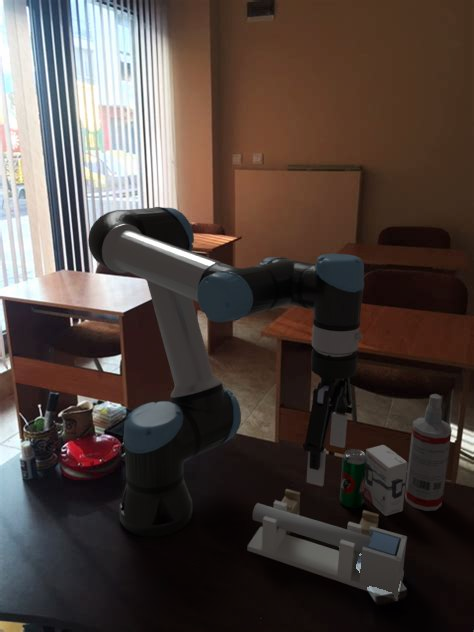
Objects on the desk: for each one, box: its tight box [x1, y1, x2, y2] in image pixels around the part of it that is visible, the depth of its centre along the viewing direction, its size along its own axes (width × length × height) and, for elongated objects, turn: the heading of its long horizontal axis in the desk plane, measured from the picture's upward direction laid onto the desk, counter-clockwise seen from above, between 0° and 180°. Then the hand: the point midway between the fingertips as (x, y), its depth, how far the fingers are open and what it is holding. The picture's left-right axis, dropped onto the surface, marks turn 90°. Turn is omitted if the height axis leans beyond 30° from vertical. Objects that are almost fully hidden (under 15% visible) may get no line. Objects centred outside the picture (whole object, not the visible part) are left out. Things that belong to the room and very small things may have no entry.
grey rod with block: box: [252, 502, 399, 557], centre depth 98 cm, size 26×4×3 cm, turn 64°
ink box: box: [364, 444, 408, 517], centre depth 116 cm, size 8×5×12 cm, turn 23°
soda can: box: [339, 448, 367, 509], centre depth 116 cm, size 5×5×12 cm
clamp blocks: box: [280, 488, 380, 536], centre depth 106 cm, size 19×6×6 cm, turn 64°
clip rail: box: [246, 499, 408, 602], centre depth 99 cm, size 28×7×8 cm, turn 64°
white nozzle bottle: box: [404, 393, 453, 512], centre depth 115 cm, size 8×8×25 cm
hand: (326, 463), depth 94 cm, fingers open, 13 cm apart
